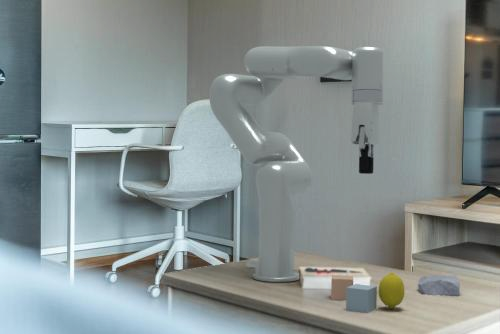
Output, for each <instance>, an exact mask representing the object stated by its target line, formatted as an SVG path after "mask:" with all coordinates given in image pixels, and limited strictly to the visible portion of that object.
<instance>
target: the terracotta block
mask: <svg viewBox="0 0 500 334" xmlns="http://www.w3.org/2000/svg"><path fill="white" fill-rule="evenodd" d="M352 285H354V275H337V274H335V275H334V274H332V275H331V291H330V293H331V294H330V297H331V298H330V300H331V301H345V302H346V287H349V286H352Z"/></svg>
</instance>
